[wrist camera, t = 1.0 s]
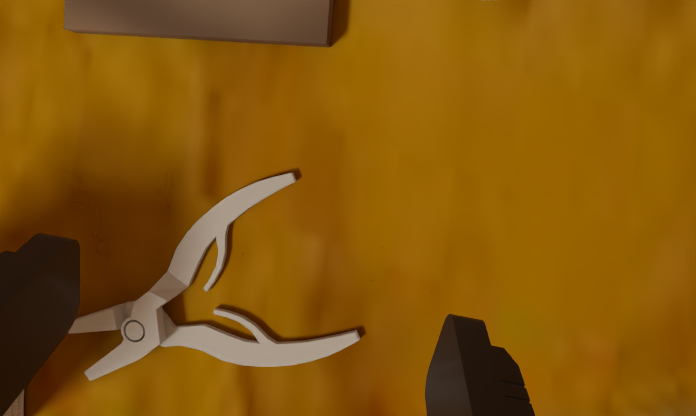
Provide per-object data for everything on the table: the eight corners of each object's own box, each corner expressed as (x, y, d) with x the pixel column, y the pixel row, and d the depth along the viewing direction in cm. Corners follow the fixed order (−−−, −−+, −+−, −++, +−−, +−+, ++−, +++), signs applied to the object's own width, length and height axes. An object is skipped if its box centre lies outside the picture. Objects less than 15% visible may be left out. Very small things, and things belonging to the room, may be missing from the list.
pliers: (358, 350, 29) (110, 434, 32) (362, 340, 31) (125, 421, 34) (285, 169, 29) (40, 270, 32) (293, 167, 31) (59, 264, 34)
